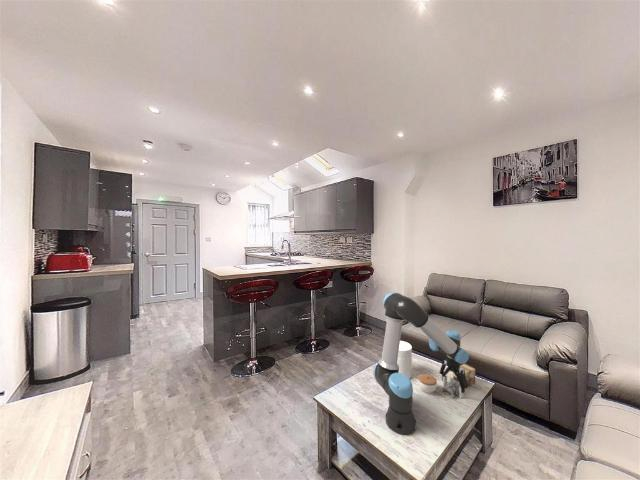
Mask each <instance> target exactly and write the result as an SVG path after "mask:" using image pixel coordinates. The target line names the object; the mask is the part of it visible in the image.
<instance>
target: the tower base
mask: <svg viewBox="0 0 640 480" xmlns="http://www.w3.org/2000/svg"><path fill="white" fill-rule="evenodd" d="M452 379H453V380H456V381H458V379H457V377H455V376H453V375H452ZM467 384H468V387H471V386H473V385H476V376H475V377H473V378H470V379H468V380H467Z"/></svg>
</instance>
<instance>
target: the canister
mask: <svg viewBox="0 0 640 480" xmlns="http://www.w3.org/2000/svg"><path fill="white" fill-rule="evenodd" d="M412 351H413V347H412V345H411V343H409V342H407V341H403V340H400V344H399V352H398V359H397V364H398V365H399V372H398V373H401V374H402V375H405V376H407V377H408V378H409V379H410V380H411V378H412V374H413V373H412V371H413V370H412V369H413V368H412V367H413V364H412V363H413V361H412V360H413V358H412V357H413V356H412Z"/></svg>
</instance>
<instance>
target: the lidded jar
mask: <svg viewBox="0 0 640 480" xmlns="http://www.w3.org/2000/svg"><path fill="white" fill-rule="evenodd" d="M417 381H418V386H419V388H420V390H421V391H422V392H423V393H425V394H428V395H429V394H432V393H434V392H435V391H436V389H437V381H438V380H437V378H436V377H435V376H433V375H431V374H428V373H420V374H418V376H417Z"/></svg>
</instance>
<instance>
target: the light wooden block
mask: <svg viewBox="0 0 640 480" xmlns="http://www.w3.org/2000/svg"><path fill="white" fill-rule="evenodd" d="M460 369H462V370H465V376H466V380H468V379H470V378H473V377H475V378H476V368H474V367H473V366H471V365H469V364H467V363H465V364H460ZM457 373H458V372H457ZM453 376H455V377H456V375H455V373H453V372H452V377H453Z"/></svg>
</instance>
